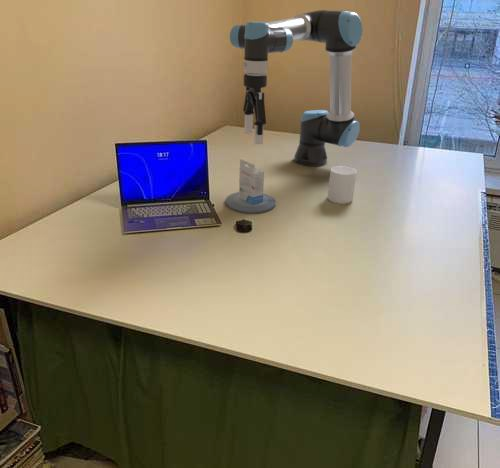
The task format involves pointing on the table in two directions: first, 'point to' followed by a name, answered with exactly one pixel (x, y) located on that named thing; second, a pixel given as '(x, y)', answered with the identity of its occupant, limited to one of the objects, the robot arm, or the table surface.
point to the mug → (341, 184)
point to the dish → (246, 207)
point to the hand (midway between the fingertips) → (253, 138)
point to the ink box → (251, 183)
